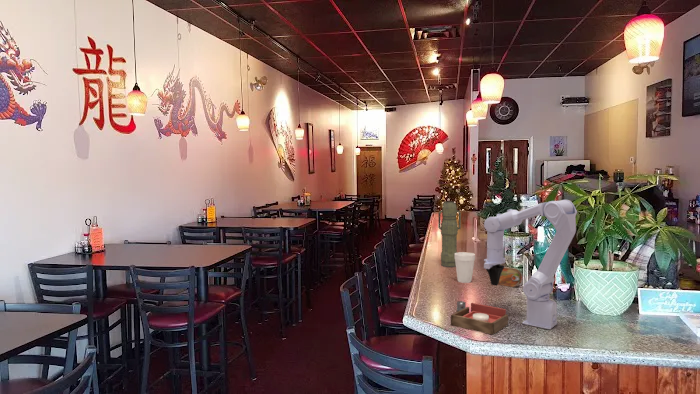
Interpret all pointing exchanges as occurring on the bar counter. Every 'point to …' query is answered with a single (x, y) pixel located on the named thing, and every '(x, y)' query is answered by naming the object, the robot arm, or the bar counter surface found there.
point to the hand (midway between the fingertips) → (494, 284)
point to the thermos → (449, 233)
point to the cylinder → (461, 305)
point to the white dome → (481, 317)
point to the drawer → (486, 311)
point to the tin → (510, 277)
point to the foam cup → (464, 266)
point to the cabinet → (477, 322)
